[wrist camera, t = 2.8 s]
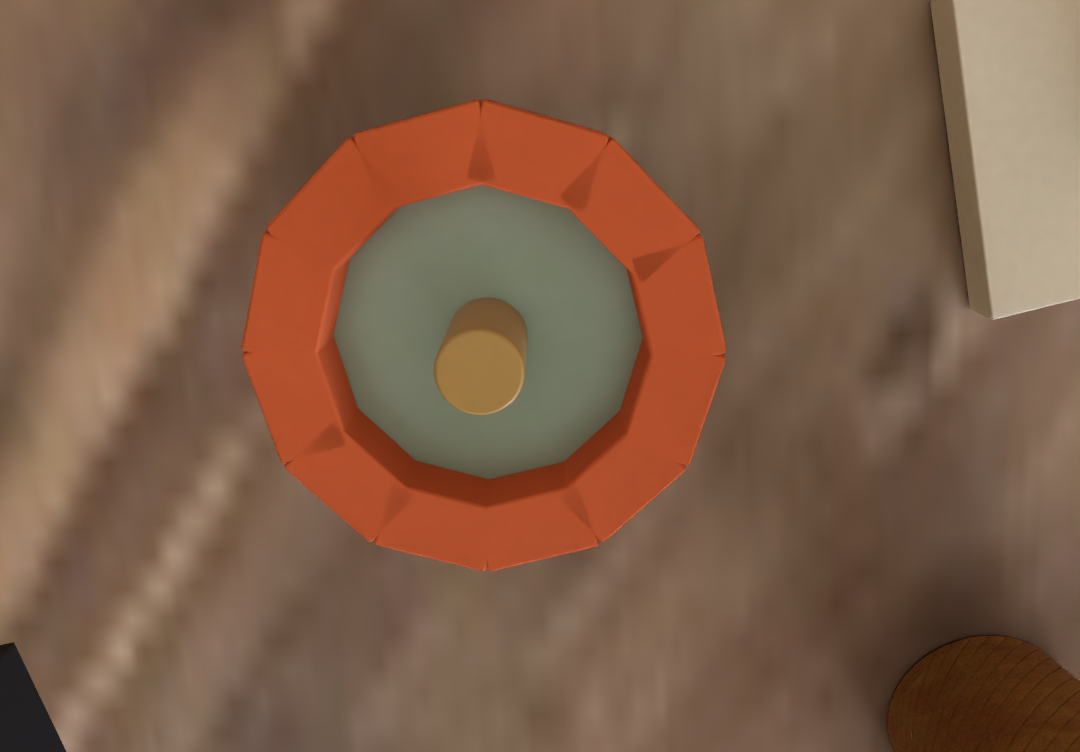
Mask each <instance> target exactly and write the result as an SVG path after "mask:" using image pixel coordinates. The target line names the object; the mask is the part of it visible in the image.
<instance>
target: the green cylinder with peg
mask: <svg viewBox="0 0 1080 752" xmlns="http://www.w3.org/2000/svg"><path fill="white" fill-rule="evenodd" d="M333 336H334V339H335V342H336V345H337V348H338V351H339V354H340V356H341V359H342V362H343V365H344V368H345V371H346V374H347V377H348V380H349V383H350V386H351V389H352V392H353V395H354V398H355V401H356V404H357V407H358V409H359V410H360V411H361V412H363V413H364V414H365V415H366V416H367V417H368V418H369V419H370V420H371V421H372V422H374V423H375V424H376V425H377V426H378V427H379V428H380V429H381V430H382V431H383V432H385V433H386V434H387V435H388V436H389V437H390V438H391V439H392V440H393V441H394V442H396V443H397V444H398V445H399V446H400V447H401V448H402V449H403V450H404V451H406V452H407V453H408V454H409V455H410V456H411V457H412V458H413V459H414V460H415V461H418V462H422V463H426V464H430V465H434V466H438V467H442V468H446V469H450V470H454V471H458V472H462V473H465V474H469V475H473V476H477V477H481V478H485V479H489V480H490V479H494V478H498V477H502V476H507V475H511V474H515V473H519V472H523V471H527V470H531V469H535V468H540V467H544V466H548V465H552V464H556V463H560V462H564V461H565V460H566V459H568V458H569V457H570V456H571V455H572V454H573V453H574V452H575V451H576V450H577V449H578V448H580V447H581V446H582V445H583V444H584V443H585V442H586V441H587V440H588V439H589V438H591V437H592V436H593V435H594V434H595V433H596V432H597V431H598V430H599V429H600V428H601V427H603V426H604V425H605V424H606V423H607V422H608V421H609V420H610V419H611V418H612V417H614V416H615V415H616V414H617V413H618V412H619V411H620V408H621V405H622V402H623V399H624V396H625V392H626V389H627V386H628V383H629V380H630V377H631V373H632V370H633V367H634V364H635V361H636V358H637V354H638V351H639V348H640V345H641V342H642V339H643V336H642V332H641V328H640V324H639V320H638V315H637V311H636V307H635V303H634V299H633V294H632V290H631V286H630V282H629V278H628V273H627V269H626V267H625V266H624V265H623V264H622V263H621V262H620V261H619V260H618V259H617V258H616V257H615V256H614V255H613V254H612V253H611V252H610V251H609V250H608V249H607V248H606V247H605V246H604V245H603V244H602V243H601V242H600V241H599V240H598V239H597V237H596V236H595V235H594V234H593V233H592V232H591V231H590V230H589V229H588V228H587V227H586V226H585V225H584V224H583V223H582V222H581V221H580V220H579V219H578V218H577V217H576V216H575V215H574V214H573V213H572V212H571V211H570V210H569V209H567V208H564V207H560V206H556V205H553V204H549V203H546V202H542V201H538V200H535V199H531V198H528V197H524V196H520V195H517V194H513V193H510V192H506V191H502V190H499V189H495V188H492V187H488V186H484V185H479V186H475V187H471V188H468V189H464V190H460V191H456V192H453V193H449V194H445V195H441V196H438V197H434V198H430V199H427V200H423V201H419V202H415V203H412V204H408V205H404V206H401V207H399V208H398V209H397V210H396V211H395V212H394V213H393V214H392V215H391V216H390V217H389V218H388V220H387V221H386V222H385V223H384V224H383V225H382V226H381V227H380V228H379V229H378V230H377V231H376V232H375V233H374V234H373V235H372V236H371V237H370V238H369V239H368V240H367V242H366V243H365V244H364V245H363V246H362V247H361V248H360V249H359V250H358V251H357V252H356V253H355V254H354V255H353V256H352V257H351V258H350V261H349V265H348V270H347V275H346V279H345V284H344V289H343V293H342V298H341V303H340V307H339V312H338V317H337V321H336V326H335V331H334V335H333Z"/></svg>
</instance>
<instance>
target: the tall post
mask: <svg viewBox="0 0 1080 752" xmlns="http://www.w3.org/2000/svg"><path fill="white" fill-rule="evenodd" d="M930 5H931V13H932V21H933V28H934V36H935V44H936V51H937V59H938V67H939V74H940V82H941V90H942V97H943V105H944V113H945V121H946V128H947V136H948V144H949V151H950V159H951V167H952V174H953V182H954V190H955V197H956V205H957V213H958V220H959V228H960V236H961V243H962V251H963V259H964V266H965V274H966V282H967V289H968V297H969V305H970V309H972V310H974V311H976V312H978V313H980V314H982V315H984V316H986V317H988V318H990V319H998V318H1002V317H1006V316H1010V315H1014V314H1018V313H1022V312H1026V311H1030V310H1034V309H1038V308H1043V307H1047V306H1051V305H1055V304H1059V303H1063V302H1067V301H1071V300H1075V299H1079V298H1080V0H932V1H931V2H930Z"/></svg>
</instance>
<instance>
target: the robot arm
mask: <svg viewBox="0 0 1080 752" xmlns="http://www.w3.org/2000/svg"><path fill="white" fill-rule="evenodd" d="M0 752H66V750H65V748H64V746H63V744H62V742H61V740H60V738H59V736H58V733H57V731H56V729H55V727H54V725H53V723H52V721H51V719H50V717H49V715H48V713H47V711H46V708H45V706H44V704H43V702H42V700H41V698H40V696H39V694H38V692H37V690H36V688H35V686H34V683H33V681H32V679H31V677H30V675H29V673H28V671H27V669H26V667H25V665H24V663H23V661H22V658H21V656H20V654H19V652H18V650H17V648H16V646H15V644H14V642H13V643H9V644H4V645H0Z"/></svg>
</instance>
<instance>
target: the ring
mask: <svg viewBox="0 0 1080 752" xmlns="http://www.w3.org/2000/svg"><path fill="white" fill-rule="evenodd" d="M479 185H484V186H488V187H492V188H495V189H499V190H502V191H506V192H510V193H513V194H517V195H520V196H524V197H528V198H531V199H535V200H538V201H542V202H546V203H549V204H553V205H556V206H560V207H564V208H567V209H569V210H570V211H571V212H572V213H573V214H574V215H575V216H576V217H577V218H578V219H579V220H580V221H581V222H582V223H583V224H584V225H585V226H586V227H587V228H588V229H589V230H590V231H591V232H592V233H593V234H594V235H595V236H596V237H597V239H598V240H599V241H600V242H601V243H602V244H603V245H604V246H605V247H606V248H607V249H608V250H609V251H610V252H611V253H612V254H613V255H614V256H615V257H616V258H617V259H618V260H619V261H620V262H621V263H622V264H623V265H624V266H625V267H626V269H627V273H628V278H629V282H630V286H631V290H632V294H633V299H634V303H635V307H636V311H637V315H638V320H639V324H640V328H641V332H642V336H643V339H642V342H641V345H640V348H639V351H638V354H637V358H636V361H635V364H634V367H633V370H632V373H631V377H630V380H629V383H628V386H627V389H626V392H625V396H624V399H623V402H622V405H621V408H620V411H619V412H618V413H617V414H616V415H615V416H614V417H612V418H611V419H610V420H609V421H608V422H607V423H606V424H605V425H604V426H603V427H601V428H600V429H599V430H598V431H597V432H596V433H595V434H594V435H593V436H592V437H591V438H589V439H588V440H587V441H586V442H585V443H584V444H583V445H582V446H581V447H580V448H578V449H577V450H576V451H575V452H574V453H573V454H572V455H571V456H570V457H569V458H568V459H566V460H565V461H564V462H560V463H556V464H552V465H548V466H544V467H540V468H535V469H531V470H527V471H523V472H519V473H515V474H511V475H507V476H502V477H498V478H494V479H490V480H489V479H485V478H481V477H477V476H473V475H469V474H465V473H462V472H458V471H454V470H450V469H446V468H442V467H438V466H434V465H430V464H426V463H422V462H418V461H415V460H414V459H413V458H412V457H411V456H410V455H409V454H408V453H407V452H406V451H404V450H403V449H402V448H401V447H400V446H399V445H398V444H397V443H396V442H394V441H393V440H392V439H391V438H390V437H389V436H388V435H387V434H386V433H385V432H383V431H382V430H381V429H380V428H379V427H378V426H377V425H376V424H375V423H374V422H372V421H371V420H370V419H369V418H368V417H367V416H366V415H365V414H364V413H363V412H361V411H360V410H359V409H358V407H357V404H356V401H355V398H354V395H353V392H352V389H351V386H350V383H349V380H348V377H347V374H346V371H345V368H344V365H343V362H342V359H341V356H340V354H339V351H338V348H337V345H336V342H335V339H334V336H333V335H334V331H335V326H336V321H337V317H338V312H339V307H340V303H341V298H342V293H343V289H344V284H345V279H346V275H347V270H348V265H349V261H350V258H351V257H352V256H353V255H354V254H355V253H356V252H357V251H358V250H359V249H360V248H361V247H362V246H363V245H364V244H365V243H366V242H367V240H368V239H369V238H370V237H371V236H372V235H373V234H374V233H375V232H376V231H377V230H378V229H379V228H380V227H381V226H382V225H383V224H384V223H385V222H386V221H387V220H388V218H389V217H390V216H391V215H392V214H393V213H394V212H395V211H396V210H397V209H398V208H399V207H401V206H404V205H408V204H412V203H415V202H419V201H423V200H427V199H430V198H434V197H438V196H441V195H445V194H449V193H453V192H456V191H460V190H464V189H468V188H471V187H475V186H479ZM266 229H267V232H265V233H264V234H263V235H262V239H261V244H260V249H259V255H258V260H257V266H256V271H255V277H254V282H253V287H252V293H251V298H250V304H249V309H248V314H247V320H246V325H245V331H244V336H243V341H242V350H244V351H246V352H245V353H243V354H242V358H243V360H244V363H245V366H246V368H247V371H248V374H249V377H250V379H251V382H252V385H253V387H254V390H255V393H256V396H257V398H258V401H259V404H260V406H261V409H262V412H263V414H264V417H265V420H266V423H267V425H268V428H269V431H270V433H271V436H272V439H273V442H274V444H275V447H276V450H277V452H278V455H279V458H280V460H281V462H282V463H286V465H285V469H286V470H287V471H289V472H290V473H291V474H292V475H293V476H294V477H295V478H297V479H298V480H299V481H300V482H301V483H302V484H303V485H305V486H306V487H307V488H308V489H309V490H310V491H312V492H313V493H314V494H315V495H316V496H317V497H318V498H320V499H321V500H322V501H323V502H324V503H325V504H326V505H328V506H329V507H330V508H331V509H332V510H333V511H335V512H336V513H337V514H338V515H339V516H340V517H341V518H343V519H344V520H345V521H346V522H347V523H348V524H349V525H351V526H352V527H353V528H354V529H355V530H356V531H358V532H359V533H360V534H361V535H362V536H363V537H364V538H366V539H367V540H368V541H369V542H372V541H373V540H374V539H375V544H376V545H379V546H383V547H387V548H391V549H395V550H399V551H403V552H407V553H411V554H415V555H419V556H423V557H428V558H432V559H436V560H440V561H444V562H448V563H452V564H456V565H460V566H464V567H468V568H472V569H476V570H480V571H484V570H485V569H486V567H487V568H488V570H489V571H494V570H498V569H502V568H507V567H511V566H515V565H520V564H524V563H528V562H532V561H537V560H541V559H545V558H549V557H554V556H558V555H562V554H567V553H571V552H575V551H579V550H584V549H588V548H592V547H596V546H598V540H599V541H600V542H602V543H603V542H605V541H606V540H607V539H608V538H609V537H610V536H611V535H613V534H614V533H615V532H616V531H617V530H618V529H619V528H621V527H622V526H623V525H624V524H625V523H626V522H627V521H629V520H630V519H631V518H632V517H633V516H634V515H635V514H636V513H638V512H639V511H640V510H641V509H642V508H643V507H644V506H646V505H647V504H648V503H649V502H650V501H651V500H652V499H654V498H655V497H656V496H657V495H658V494H659V493H660V492H662V491H663V490H664V489H665V488H666V487H667V486H668V485H670V484H671V483H672V482H673V481H674V480H675V479H676V478H678V477H679V476H680V475H681V474H682V473H683V472H684V471H685V469H686V468H685V466H684V465H689V464H690V463H691V460H692V457H693V454H694V451H695V448H696V445H697V442H698V439H699V436H700V434H701V431H702V428H703V425H704V422H705V419H706V416H707V413H708V410H709V407H710V405H711V402H712V399H713V396H714V393H715V390H716V387H717V384H718V381H719V379H720V376H721V373H722V370H723V367H724V364H725V361H726V357H725V356H724V354H723V353H725V352H726V344H725V340H724V335H723V330H722V326H721V321H720V316H719V311H718V307H717V302H716V297H715V292H714V288H713V283H712V278H711V273H710V269H709V264H708V259H707V255H706V250H705V245H704V240H703V238H702V236H701V235H700V234H698V233H699V232H700V230H699V229H698V228H697V226H696V225H695V224H694V223H693V222H692V221H691V220H690V219H689V218H688V217H687V216H686V215H685V214H684V213H683V212H682V210H681V209H680V208H679V207H678V206H677V205H676V204H675V203H674V202H673V201H672V200H671V199H670V198H669V197H668V196H667V194H666V193H665V192H664V191H663V190H662V189H661V188H660V187H659V186H658V185H657V184H656V183H655V182H654V181H653V180H652V178H651V177H650V176H649V175H648V174H647V173H646V172H645V171H644V170H643V169H642V168H641V167H640V166H639V165H638V163H637V162H636V161H635V160H634V159H633V158H632V157H631V156H630V155H629V154H628V153H627V152H626V151H625V150H624V149H623V147H622V146H621V145H620V144H619V143H618V142H617V141H616V140H615V139H613V138H611V137H610V136H608V135H607V134H605V133H603V132H600V131H596V130H593V129H589V128H586V127H582V126H579V125H575V124H572V123H568V122H565V121H561V120H558V119H554V118H551V117H547V116H544V115H540V114H536V113H533V112H529V111H526V110H522V109H519V108H515V107H512V106H508V105H505V104H501V103H498V102H494V101H491V100H483V101H482V100H474V101H470V102H467V103H463V104H459V105H456V106H452V107H448V108H445V109H441V110H438V111H434V112H430V113H427V114H423V115H420V116H416V117H412V118H409V119H405V120H401V121H398V122H394V123H391V124H387V125H383V126H380V127H376V128H372V129H369V130H365V131H362V132H358V133H355V134H354V137H352V138H348V139H346V140H345V141H344V142H343V143H342V145H341V146H340V147H339V148H338V149H337V150H336V151H335V152H334V153H333V154H332V155H331V157H330V158H329V159H328V160H327V161H326V162H325V163H324V164H323V165H322V166H321V167H320V169H319V170H318V171H317V172H316V173H315V174H314V175H313V176H312V177H311V178H310V179H309V181H308V182H307V183H306V184H305V185H304V186H303V187H302V188H301V189H300V190H299V191H298V192H297V194H296V195H295V196H294V197H293V198H292V199H291V200H290V201H289V202H288V203H287V204H286V206H285V207H284V208H283V209H282V210H281V211H280V212H279V213H278V214H277V215H276V216H275V218H274V219H273V220H272V221H271V222H270V223H269V224H268V225H267V228H266Z"/></svg>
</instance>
